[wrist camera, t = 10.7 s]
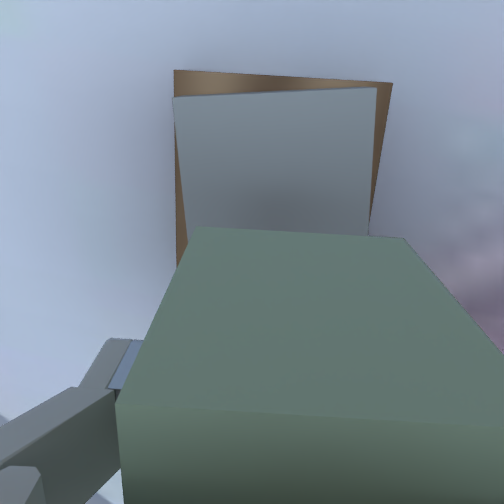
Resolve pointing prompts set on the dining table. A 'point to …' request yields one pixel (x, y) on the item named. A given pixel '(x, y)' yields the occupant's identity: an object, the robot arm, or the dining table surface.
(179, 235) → the walnut base slab
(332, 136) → the grey top slab
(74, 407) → the robot arm
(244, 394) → the sage block
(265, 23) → the dining table surface
